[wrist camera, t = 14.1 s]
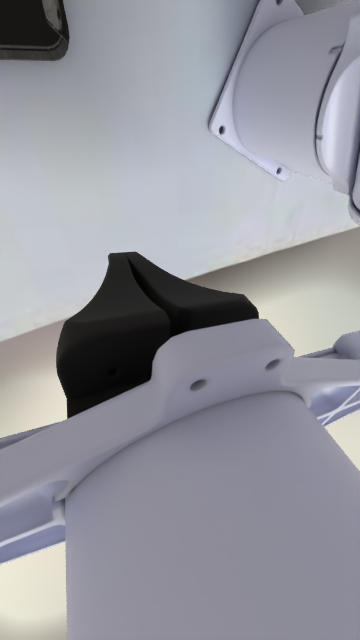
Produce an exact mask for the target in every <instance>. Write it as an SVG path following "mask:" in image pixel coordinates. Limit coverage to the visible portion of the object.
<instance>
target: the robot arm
mask: <svg viewBox="0 0 360 640" xmlns="http://www.w3.org/2000/svg"><path fill="white" fill-rule="evenodd" d="M220 126H222V127H223V130H222V132H221V133H219V128H220ZM209 130H210V132H211V133H212V134H213V135H215V136H216V137H217V138H219V139H220V140H222V141H223V142H225V143H226V144H228V145H229V146H231V147H232V148H234V149H235V150H236V151H238V152H239V153H241V154H242V155H244V156H245V157H247V158H248V159H250V160H251V161H252V162H254V163H255V164H257V165H258V166H260V167H261V168H263V169H264V170H266V171H267V172H268V173H270V174H271V175H273V176H274V177H276V178H277V179H279V180H280V181H286V180H287V179H288V178H289V176H290V174H291V173H292V171H293V172H296V173H299V174H303V175H306V176H309V177H312V178H315V179H318V180H321V181H324V182H327V183H330V184H333V190H335V191H338V192H341V193H344V194H347V195H350V196H349V203H348V210H349V214H350V216H351V218H352V219H353V220H354V221H355V222H356V223H357V224H359V225H360V0H350V1H347V2H344V3H341V4H338V5H334V6H331V7H328V8H325V9H322V10H319V11H316V12H313V13H310V14H307V15H305V14H304V13H303V12H302V10H301V9H300V7H299V6H298V4H297V3H296V2H295V0H279V3H278V4H277V2H276V0H260V1H259V4H258V6H257V8H256V11H255V13H254V16H253V18H252V21H251V23H250V26H249V28H248V30H247V33H246V35H245V38H244V40H243V43H242V45H241V48H240V50H239V52H238V55H237V57H236V60H235V62H234V65H233V67H232V70H231V72H230V74H229V77H228V79H227V82H226V84H225V87H224V89H223V92H222V94H221V96H220V99H219V101H218V104H217V106H216V109H215V111H214V114H213V116H212V118H211V121H210V124H209ZM278 168H279V170H278V172H277V173H276V171H277V169H278ZM108 260H109V266H108V269H107V273H106V276H105V278H104V281H103V283H102V285H101V287H100V289H99V290H98V292H97V293H96V295H95V296H94V297H93V299H92V300H91V301H90V302H89V303H88V304H87V305H86V306H85V307H84V308H83V309H82V310H81V311H80V312H78V313H77V314H75V315H74V316H73V317H71V318H70V319H68V320H67V321H65V323H64V325H63V328H62V331H61V334H60V338H59V342H58V347H57V355H56V367H57V374H58V377H59V380H60V382H61V385H62V387H63V390H64V393H65V395H66V398H67V419H66V420H64V421H62V422H58V423H54V424H51V425H47V426H43V427H40V428H36V429H32V430H29V431H25V432H21V433H18V434H14V435H10V436H7V437H3V438H0V565H2V564H5V563H8V562H10V561H13V560H16V559H19V558H22V557H25V556H28V555H30V554H33V553H36V552H39V551H42V550H44V549H47V548H50V547H53V546H56V545H59V544H61V543H64V542H66V589H67V590H66V592H67V640H360V471H359V470H358V469H357V468H356V466H355V465H354V464H353V463H352V461H351V460H350V459H349V458H348V456H347V455H346V454H345V453H344V451H343V450H342V449H341V448H340V446H339V445H338V444H337V443H336V441H335V440H334V439H333V438H332V436H331V435H330V434H329V433H328V431H327V430H326V429H325V428H324V427H326V426H328V425H330V424H332V423H334V422H336V421H338V420H340V419H341V418H344V417H345V416H347V415H350V414H352V413H354V412H356V411H358V410H360V331H356V332H352V333H348V334H345V335H342V336H341V337H340V338H339V339H338V340H337V341H336V342H335V344H334V345H333V348H329V349H326V350H322V351H318V352H314V353H311V354H307V355H303V356H300V357H293V356H294V349H293V348H292V346H291V345H290V344H289V343H288V342H287V341H286V340H285V339H284V338H283V337H282V335H281V334H280V333H279V332H278V331H277V330H276V329H275V328H274V327H273V326H272V325H271V324H270V322H269V321H268V320H266V319H259V314H258V311H257V308H256V307H255V306H254V305H253V304H252V303H251V302H250V301H249V300H248V298H247V297H246V296H245V295H243V294H236V293H229V292H222V291H218V290H213V289H209V288H205V287H201V286H198V285H195V284H192V283H189V282H187V281H184V280H182V279H180V278H178V277H175V276H173V275H171V274H170V273H168V272H166V271H164V270H163V269H161V268H159V267H158V266H156V265H155V264H153V263H152V262H150V261H149V260H147V259H146V258H145V257H143V256H142V255H140V254H139V253H137V252H123V253H110V254H109V255H108Z"/></svg>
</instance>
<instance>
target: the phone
mask: <svg viewBox="0 0 360 640" xmlns="http://www.w3.org/2000/svg"><path fill="white" fill-rule="evenodd" d="M68 44H69V30H68V24H67V19H66V14H65V10H64V5H63V0H0V60H27V61H56V60H60V59H61V58H62V57H63V56H65V54H66V51H67V49H68Z"/></svg>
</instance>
